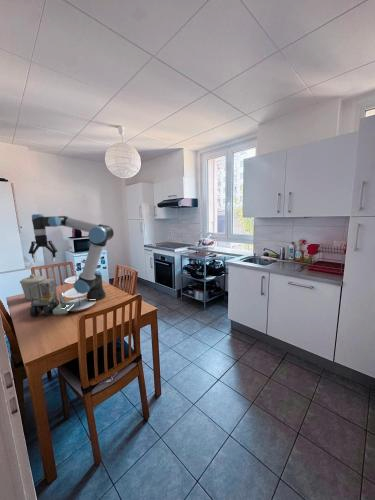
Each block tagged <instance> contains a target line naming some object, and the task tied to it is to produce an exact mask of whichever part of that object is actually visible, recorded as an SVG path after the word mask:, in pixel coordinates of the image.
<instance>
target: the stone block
mask: <svg viewBox="0 0 375 500" xmlns="http://www.w3.org/2000/svg"><path fill="white" fill-rule="evenodd" d="M40 289H41V293H42V296H47V295H53V297H57V298H58V294H57V285H56V279H55V278H45V281H43V282H41V283H40Z"/></svg>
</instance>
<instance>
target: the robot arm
mask: <svg viewBox="0 0 375 500" xmlns="http://www.w3.org/2000/svg"><path fill="white" fill-rule="evenodd" d="M31 223H32V226H33V228H32V229H33V233H34V234H33V235H34V239H35V240H33V241H31V243H30V244H31V245H30V247H29V250H28V254H30V255H31V258H32V259H33V263H37V262H38V259H37V254H36V253H37V251H38V250H39V248H46V249H47V250H48V251H49V252H50V253H51V254H50V256H51V261H52V263H53V262H56V253H57V252H58V249H57V248H56V246H55V245H54V244H53V240H48V235H47V231H46V230H47V229H46V228H47V227H48V228H49V227H50V228H51V227H52V228H55V227H62V226H63V227H67V228H71V229H75V230H78V231H81V232H87V233H88V234H87V235H88V238H89V241H88V242H89V244H90V245H89V249H88V252H87V255H86V259H85V262H84V265H83V269H82V272H81V273H79V276H78V279H77V280H75V281H74V283H73V288H74V290H75V292H77V293H78V294H81V295H83V294H86V300H87V299H96V301H99V300H103V299H105V298H106V296H107V294H106V291H105V289H104V286H103V277H102V276H103V275H102V272H101V271H100V270H97V267H98V265H99V261H100V257H101V254H102V251H103V248H105V247H106V245H107V242H108V241H110V240H111V239H113V237H114V235H115V233H114V232H115V231H114V229H113V228H112V227H111V226H110V225H105V224H102V223H99V224H96V223H92V222H88V221H83V220H81V219H76V218H72V217H69V216H67V215H58V216H56V215H55V216H53V215H52V216H45V215H44V214H43V213H39V214H31Z"/></svg>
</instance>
